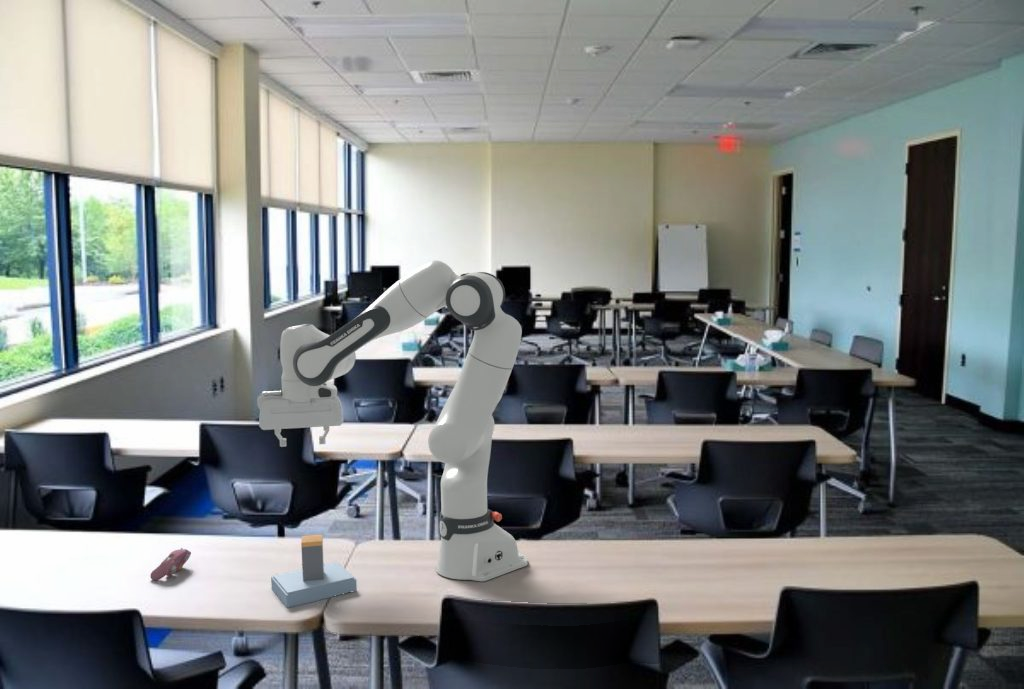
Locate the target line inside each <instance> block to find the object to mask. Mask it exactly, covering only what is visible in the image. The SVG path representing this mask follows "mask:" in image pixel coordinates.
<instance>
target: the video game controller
mask: <svg viewBox="0 0 1024 689" xmlns="http://www.w3.org/2000/svg"><path fill="white" fill-rule="evenodd" d="M191 554H192V552H191V551H190V550H188V549H187V548H183V547H181V548H180V549H175V550H173V551H171V552H170V553H169V554H168V556H166V557H165V558H164V559H163V561H162V562H161V563H160V564H159V565H158V566H157V567H156V568H155V569H154V570H152V572H151V573H150V579H151V581H159V580H161V579H162V578H164V577H165V576H167V577H169V578H171V577H172V576H173V575H174V574H175V572H177V573H178V572H179V571H182V569H183V567H184V565H185V564H186V563H187V561H188V560H189V559H190V557H191Z"/></svg>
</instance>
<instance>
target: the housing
mask: <svg viewBox="0 0 1024 689" xmlns="http://www.w3.org/2000/svg"><path fill="white" fill-rule="evenodd" d="M323 541H324V540H323V534H311V535H302V536H301V543H300V544H301V565H302V567H301V568H302V569H303V581H312V580H323V579H324V543H323Z"/></svg>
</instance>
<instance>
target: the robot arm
mask: <svg viewBox="0 0 1024 689" xmlns="http://www.w3.org/2000/svg"><path fill="white" fill-rule="evenodd" d="M505 299H506V291H505V287H504V285H503V282H502V281H501V279H499V278H498V277H497V276H496V275H494V274H492V273H489V272H484V271H482V272H481V271H479V272H478V271H477V272H476V271H475V272H467V273H462V274H460V275H457V274H456V273H455V272H454V271H453V269H452V268H451V267H450V266H449V265H448V264H447V263H445V262H443V261H441V260H432V261H428V262H427V263H425V264H422V265H420V266H418V267H416V268H415V269H413V270H412V271H410V272H409V273H407V274H406V275H404V276H402V277H401V278H400V279H399V280H397V281H395V283H393V284H392V285H391V286H389V287H388V288H387V289H386V290H385V291H384V292H383V293H382V294H381V295H379V297H377V299H375V301H373V302H372V303H371V304H370V305H369V306H368V307H367V308H365V309H364V310H363V311H362V312H361V313H360V314H359V315H357V316H356V317H355V318H353V319H352V320H350V321H349V322H348V323H346V324H344V325H343V326H342V327H340V328H339V329H337V330H336V331H334V332H332V333H331V334H328V333H325V332H323V331H321V330H320V329H318V328H317V327H316V326H315V325H314V324H311V323H304V324H298V325H294V326H289V327H287V328H285V329H284V330H283V331H282V332H281V337H280V347H279V348H280V350H279V352H280V353H279V356H280V358H279V359H280V364H281V367H282V368H281V369H282V374H281V378H280V379H281V390H274V391H262V393H260V394H259V395H257V399H256V406H257V409H259V414H258V415H259V417H258V418H259V419H258V423H259V424H258V426H259V428H260V429H261V430H263V431H267V430H268V431H269V430H270V431H271V430H274V435H275V436H276V437H277V439H278V441H279V447H281V448H283V447H287V437H283V436H282V435H281V432H282V430H284V429H286V430H287V429H302V428H303V429H305V428H321V427H323V431H324V432H323V434H322V435H319V437H318V441H319V442H318V445H326V437H327V435H328V434H329V432H330V427H339V426H340V427H341V425H343V423H344V414H343V413H344V412H343V406H342V401H341V399H340V397H339V395H338V388H337V386H336V385H334V384H331V383H329V381H332V380H335V379H336V378H337V379H338V378H339V377H341V376H344V375H346V374H347V373H349V372H350V371H352V369H353V367H355V363H356V359H357V356H356V352H357V351H358V350H360V349H361V348H362V347H364V346H366V345H367V344H369V343H370V342H372V341H374V340H375V341H376V340H377V339H380V338H383V337H385V336H390V335H392V334H396V333H400V332H403V331H405V330H408V329H410V328H412V327H414V326H416V325H418V324H420V323H422V322H424V321H425V320H427V319H428V318H429V317H431V316H432V315H433V314H434V313H436V312H437V311H439V310H440V309H442V308H444V307H446V308H447V310H448V312H449V313H450V315H452V316H453V318H455V319H456V320H457V321H458V322H461V323H462V324H463V325H464V326H465V327H466V328H468V329H469V330H470V331H473V332H474V333H473V337H472V340H471V343H470V346H469V348H468V351H467V354H466V357H465V360H464V362H463V365H462V367H461V370H460V373H459V376H458V377H457V380H456V383H455V384H454V386H453V389H452V390H451V393H450V394H449V396H448V398H447V400H446V401H445V403H444V405H443V407H442V409H441V412H440V414H439V416H438V418H437V420H436V422H435V423H434V425H433V428H432V429H431V431H430V433H429V436H428V437H427V438H428V440H427V444H428V445H427V446H428V449H429V452H430V453H431V455H432V456H433V457H434V459H436V460H437V461H438V462H441V463H443V464H444V468H443V473H442V476H441V478H440V503H441V505H440V506H441V509H440V510H441V511H439V534H440V546H439V553H438V559H437V562H436V566H435V571H436V572H437V574H439V575H440V576H442V577H444V578H449V579H452V580H464V581H465V580H466V581H467V580H469V581H476V582H486V581H488V580H491V579H494V578H496V577H500V576H503V575H505V574H507V573H510V572H513V571H515V570H518V569H521V568H524V567H526V566H528V559H527V557H526V556H525V554H523V553H522V552H521V551H519V549H518V548H519V547H518V544H517V541H516V539H515V538H514V536H513V535H512V534H510V533H509V532H508V531H506V530H504V529H503V528H502V527H500V526H499V525H497V524H496V523H495V522H498V523H499V522H500V521H501V520H502V519H503V516H502V515H503V514H501V513H499V512H498V511H493V510H491V509H489V508H488V474H489V467H490V466H489V465H490V460H491V450H492V440H493V435H494V431H495V426H496V425H495V420H494V417H493V413H494V411H495V410H496V408H497V405H498V404H499V402H500V401H501V399H502V397H503V395H504V394H503V393H504V392H505V389H506V387H507V383H508V381H509V378H510V376H511V374H512V370H513V368H514V365H515V363H516V360H517V356H518V354H519V349H520V345H521V340H522V333H523V332H522V331H523V330H522V329H523V328H522V326H521V324H520V322H519V321H518V320H517V319H515V317H514V316H512V315H510V314H507V313H506V312H504V311H503V310H502V307H503V305H504V302H505ZM327 382H328V383H327Z"/></svg>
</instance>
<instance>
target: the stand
mask: <svg viewBox="0 0 1024 689" xmlns="http://www.w3.org/2000/svg"><path fill="white" fill-rule="evenodd" d="M270 578H271V581H270V582H271V584H270V585H271V589H272V591H273V592H274V593H275V595H276V596H277V597H278V598H279V600H280V601H281V603H284V604H283V605H284V606H285V607H286V608H287V609H288V608H292V607H296V606H300V605H304V604H308V603H313V602H317V601H321V599H322V600H325V598H326V599H330V598H334V597H336V596H335V595H338V596H341V595H340V594H342V595H344V594H343V593H347V592H351V591H355V590H357V586H358V585H357V579H356V577H355V576H353V575H352V573H351V572H349V571H348V570H347V569H346V568H345V567H344V566H343V565H341V563H339V562H338V561H335V562H334V561H333V562H329V563H325V564H324V579H323V580H312V581H303V569H297V570H292V571H288V572H287V571H286V572H283V573H279V574H275V575H273V576H271V577H270ZM355 592H356V591H355ZM351 593H352V592H351ZM347 594H348V593H347ZM333 596H334V597H333Z"/></svg>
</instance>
